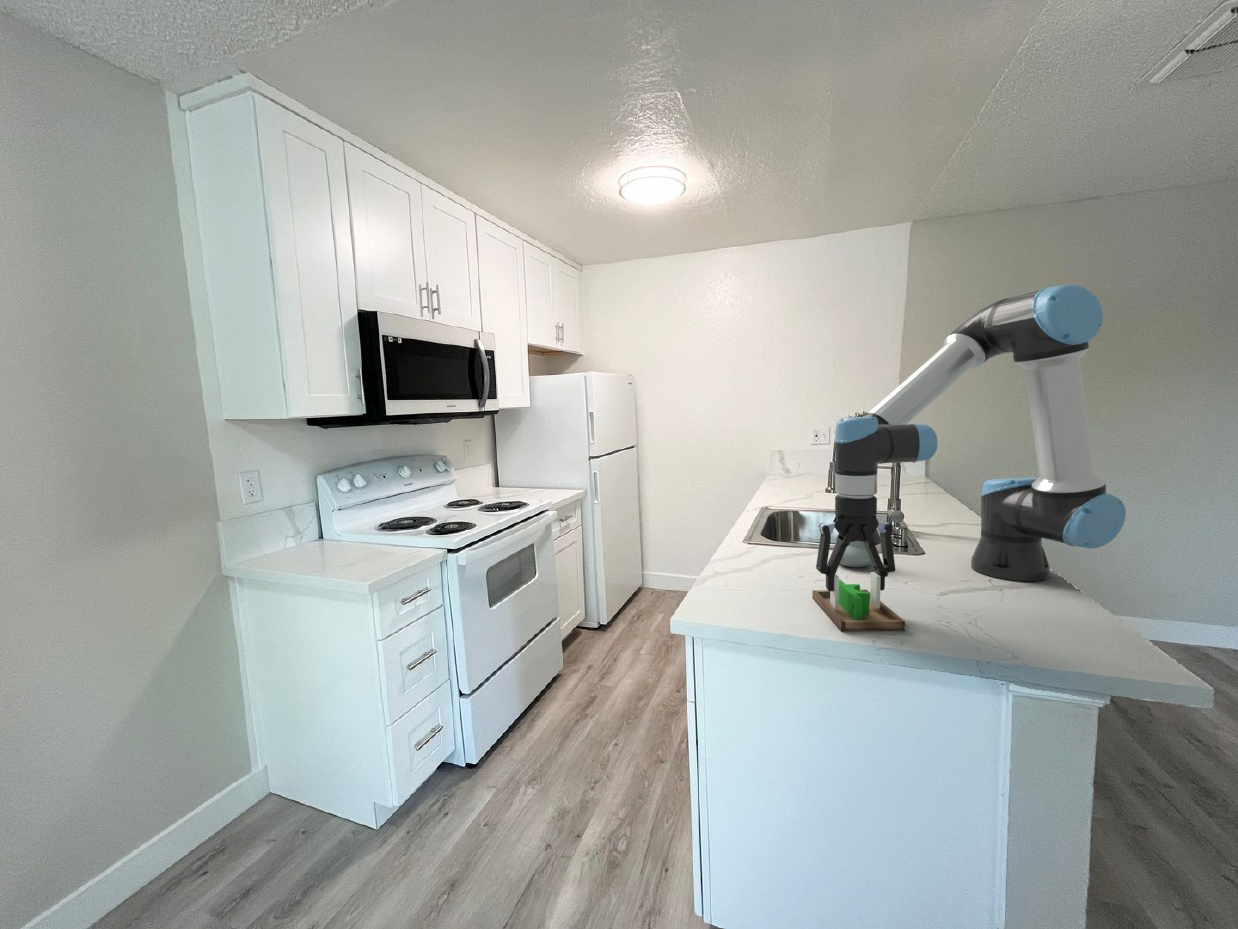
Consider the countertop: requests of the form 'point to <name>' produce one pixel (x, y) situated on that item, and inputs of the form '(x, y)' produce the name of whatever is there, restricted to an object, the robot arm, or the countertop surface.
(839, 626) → the tray
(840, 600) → the pipe clamp
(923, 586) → the countertop surface
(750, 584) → the countertop surface
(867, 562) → the air freshener
